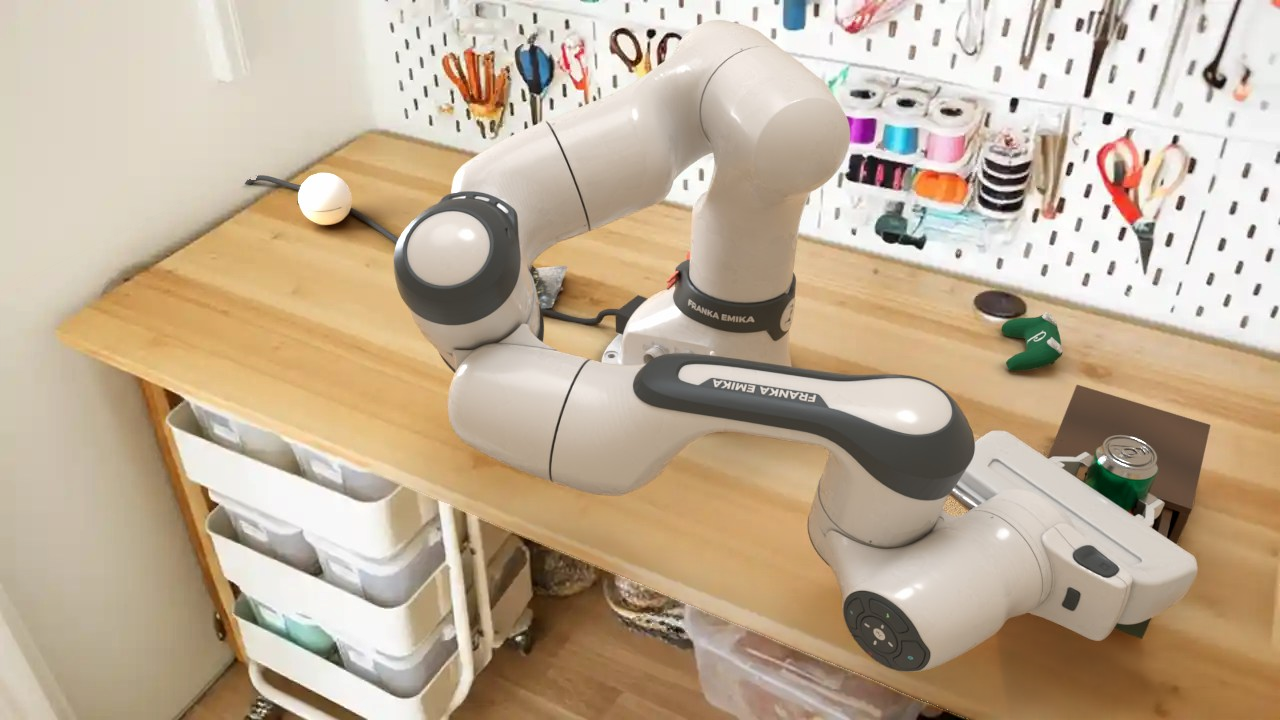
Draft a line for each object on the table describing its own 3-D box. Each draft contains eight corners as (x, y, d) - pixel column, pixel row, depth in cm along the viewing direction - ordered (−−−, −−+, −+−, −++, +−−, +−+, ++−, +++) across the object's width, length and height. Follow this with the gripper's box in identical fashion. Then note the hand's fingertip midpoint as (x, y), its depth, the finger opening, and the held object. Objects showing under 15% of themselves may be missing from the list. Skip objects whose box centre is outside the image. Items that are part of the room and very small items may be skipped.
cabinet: (1164, 572, 97) (1192, 509, 92) (1026, 522, 102) (1046, 460, 97) (1184, 486, 106) (1210, 424, 102) (1057, 444, 112) (1076, 384, 107)
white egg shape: (323, 206, 153) (314, 160, 149) (366, 215, 151) (358, 169, 147) (279, 237, 146) (269, 189, 142) (324, 247, 144) (314, 199, 139)
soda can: (1053, 532, 97) (1088, 432, 90) (1105, 530, 97) (1144, 430, 90) (1076, 573, 93) (1114, 472, 86) (1130, 571, 93) (1173, 470, 86)
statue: (470, 315, 133) (443, 210, 124) (490, 276, 140) (466, 174, 131) (553, 315, 130) (532, 208, 122) (569, 275, 138) (550, 171, 129)
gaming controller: (1022, 388, 122) (1069, 363, 119) (1003, 366, 121) (1051, 341, 118) (1015, 344, 130) (1060, 320, 127) (998, 323, 129) (1042, 298, 125)
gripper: (916, 501, 93) (1018, 445, 99) (1116, 657, 79) (1219, 580, 86) (929, 446, 89) (1033, 392, 96) (1141, 600, 76) (1246, 525, 82)
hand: (1123, 482), depth 91 cm, fingers closed on soda can, 5 cm apart
